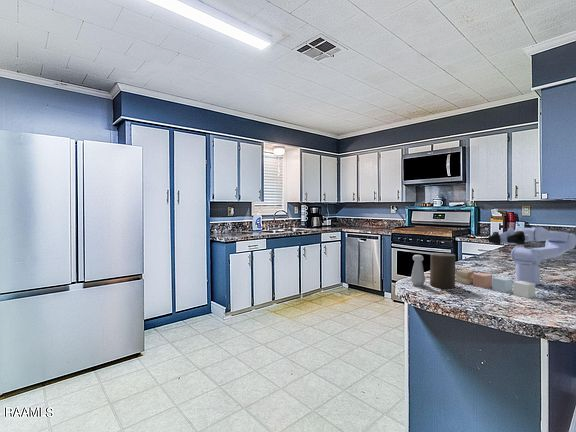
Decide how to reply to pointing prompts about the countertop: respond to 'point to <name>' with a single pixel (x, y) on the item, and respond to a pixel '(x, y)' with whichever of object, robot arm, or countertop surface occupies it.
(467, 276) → the maple block
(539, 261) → the robot arm
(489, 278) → the terracotta block
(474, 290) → the countertop surface
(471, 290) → the countertop surface
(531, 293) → the cream block
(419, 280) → the salt shaker
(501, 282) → the blue-grey block
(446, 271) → the pillar candle
